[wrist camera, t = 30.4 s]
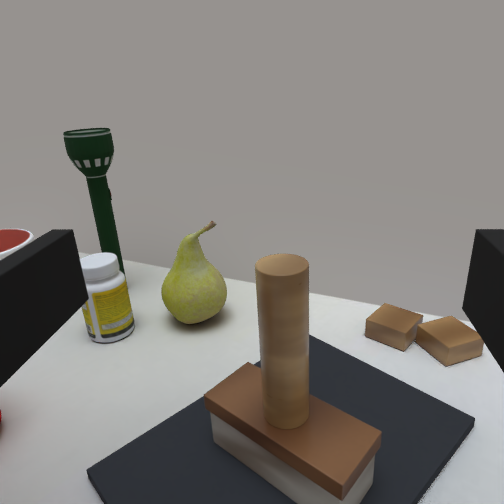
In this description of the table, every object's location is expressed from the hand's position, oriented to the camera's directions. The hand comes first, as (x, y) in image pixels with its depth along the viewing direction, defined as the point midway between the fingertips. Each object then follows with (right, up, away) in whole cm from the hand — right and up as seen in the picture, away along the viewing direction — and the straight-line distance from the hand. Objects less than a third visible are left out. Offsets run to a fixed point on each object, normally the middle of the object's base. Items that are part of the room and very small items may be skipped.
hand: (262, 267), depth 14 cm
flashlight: (-18, -4, +40) cm, 44 cm away
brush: (+2, -13, +13) cm, 19 cm away
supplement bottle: (-15, -8, +30) cm, 35 cm away
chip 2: (+18, -8, +24) cm, 31 cm away
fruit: (-6, -7, +32) cm, 33 cm away
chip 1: (+14, -8, +27) cm, 31 cm away
